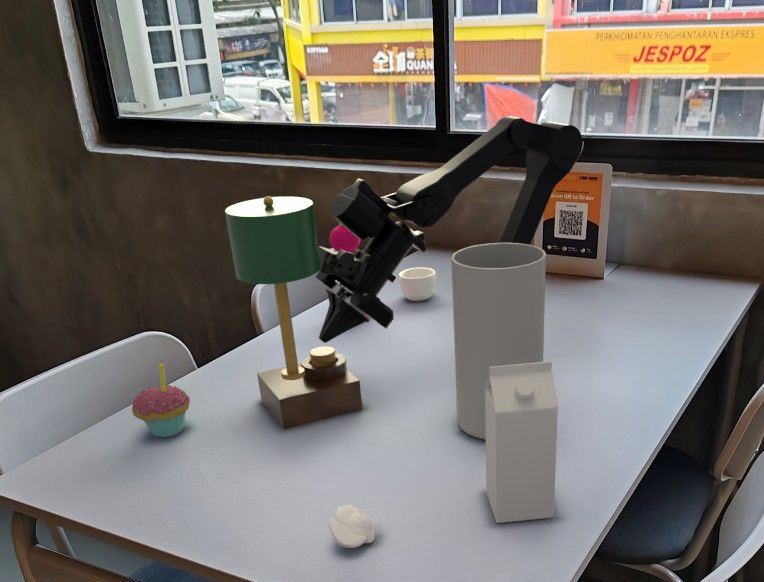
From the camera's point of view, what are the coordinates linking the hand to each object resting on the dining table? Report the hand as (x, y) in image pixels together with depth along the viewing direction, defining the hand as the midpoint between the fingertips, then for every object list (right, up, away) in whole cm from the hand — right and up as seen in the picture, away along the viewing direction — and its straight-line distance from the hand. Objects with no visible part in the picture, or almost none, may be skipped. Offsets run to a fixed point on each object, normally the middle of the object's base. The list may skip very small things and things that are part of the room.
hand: (321, 340), depth 128 cm
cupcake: (-24, -14, 0) cm, 28 cm away
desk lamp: (-4, -6, -3) cm, 8 cm away
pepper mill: (+2, +12, +39) cm, 41 cm away
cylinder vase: (+27, -13, -5) cm, 31 cm away
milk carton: (+27, -26, -25) cm, 45 cm away
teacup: (+16, +18, +48) cm, 54 cm away
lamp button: (0, -3, +2) cm, 4 cm away
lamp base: (-2, -10, +4) cm, 11 cm away
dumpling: (+7, -30, -30) cm, 43 cm away
